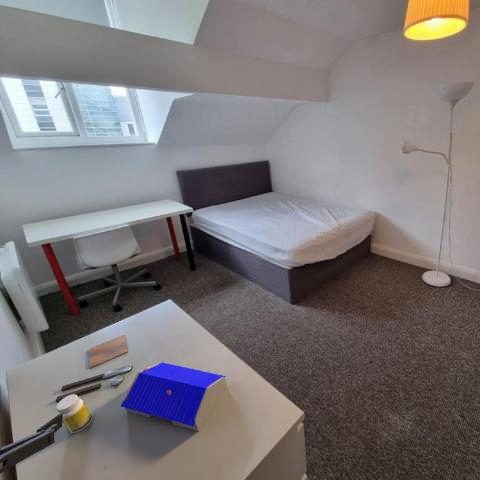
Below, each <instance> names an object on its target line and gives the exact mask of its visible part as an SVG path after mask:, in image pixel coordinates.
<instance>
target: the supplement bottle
mask: <svg viewBox="0 0 480 480" xmlns="http://www.w3.org/2000/svg"><path fill="white" fill-rule="evenodd" d="M55 409H56V411H57V412H58V413H57V415H59V414H63V423H62V425H64V427H65V428H66V430H67V431H68V432H69V433H70V434H76V433H79V432H82V431H83V430H85V429H86V428H87V427H88V426H89V425H90V424H91V422H92V420H93V415H92V413H91V412H90V409H89V408H88V406H87V405H86V403H85V402H84V400H83V399H81V398H80V397H79V395H78V396H77V395H75V394H73V395H69V396H67V397H65V398H63V399H62V400H61V401H59V402H57V404H56V406H55Z"/></svg>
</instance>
